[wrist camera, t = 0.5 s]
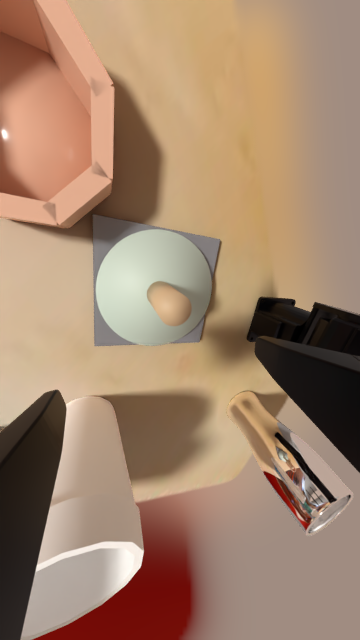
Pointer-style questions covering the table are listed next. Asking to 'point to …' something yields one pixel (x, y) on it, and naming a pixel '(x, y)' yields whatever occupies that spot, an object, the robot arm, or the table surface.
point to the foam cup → (85, 523)
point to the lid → (153, 287)
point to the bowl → (52, 116)
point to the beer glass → (290, 465)
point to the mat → (106, 238)
